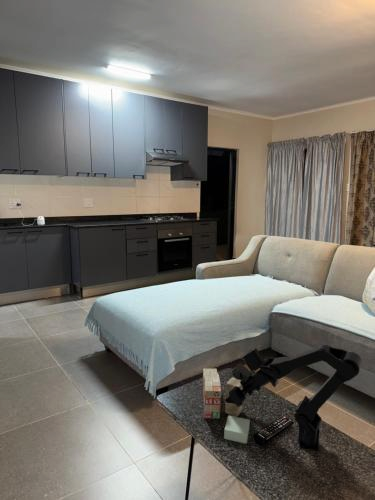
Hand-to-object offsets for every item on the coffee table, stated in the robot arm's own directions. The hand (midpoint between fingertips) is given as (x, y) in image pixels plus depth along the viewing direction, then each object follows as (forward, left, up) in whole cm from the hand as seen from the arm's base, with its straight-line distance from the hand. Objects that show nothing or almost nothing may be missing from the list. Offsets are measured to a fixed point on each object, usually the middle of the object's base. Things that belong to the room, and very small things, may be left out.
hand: (231, 395), depth 138 cm
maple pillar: (-1, 0, -7) cm, 7 cm away
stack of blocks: (+9, -3, -7) cm, 12 cm away
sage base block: (-4, +12, -7) cm, 15 cm away
